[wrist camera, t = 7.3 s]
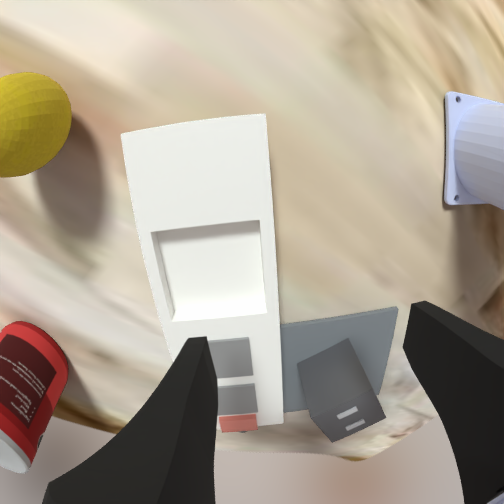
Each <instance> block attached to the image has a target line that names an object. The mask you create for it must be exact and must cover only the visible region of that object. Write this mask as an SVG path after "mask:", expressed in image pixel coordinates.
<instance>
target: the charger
mask: <svg viewBox="0 0 504 504" xmlns="http://www.w3.org/2000/svg"><path fill="white" fill-rule="evenodd" d="M297 366H298V369H299V373H300V377H301V381H302V385H303V389H304V393H305V397H306V401H307V405H308V408H309V412H310V416H311V419H312V420H313V421H314V422H315V423H316V425H317V426H318V427H319V428H320V429H321V430H322V431H323V433H324V434H325V435H326V436H327V437H328V438H329V439H330V441H331V442H332V443H333V442H335V441H337V440H340V439H342V438H344V437H347V436H349V435H351V434H353V433H356V432H358V431H360V430H362V429H364V428H366V427H368V426H370V425H373V424H375V423H377V422H379V421H381V420H383V419H385V418H386V416H385V414H384V412H383V410H382V407H381V405H380V403H379V401H378V399H377V396H376V394H375V392H374V390H373V388H372V386H371V384H370V382H369V379H368V377H367V375H366V373H365V371H364V369H363V367H362V365H361V363H360V361H359V359H358V356H357V354H356V352H355V350H354V348H353V346H352V344H351V342H350V340H349V338H347V339H345V340H343V341H341V342H339V343H337V344H335V345H333V346H331V347H329V348H327V349H325V350H323V351H321V352H319V353H317V354H315V355H313V356H311V357H309V358H307V359H305V360H303V361H301V362H299V363H297Z"/></svg>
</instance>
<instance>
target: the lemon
mask: <svg viewBox="0 0 504 504" xmlns="http://www.w3.org/2000/svg"><path fill="white" fill-rule="evenodd" d="M71 118H72V112H71V105H70V102H69V99H68V97H67V94H66V93H65V91H64V90H63V89H62V87H61V86H60V85H59V84H58V83H57V82H55V81H54V80H52V79H51V78H49V77H47V76H45V75H41V74H37V73H32V72H23V73H16V74H10V75H7V76H4V77H2V78H0V177H16V176H23V175H26V174H29V173H31V172H33V171H35V170H38V169H40V168H41V167H43V166H44V165H46V164H47V163H48V162H49V161H50V160H52V159H53V158H54V157H55V156H56V155H57V153H58V152H59V151H60V149H61V148H62V147H63V145H64V143H65V141H66V139H67V137H68V134H69V130H70V127H71Z"/></svg>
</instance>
